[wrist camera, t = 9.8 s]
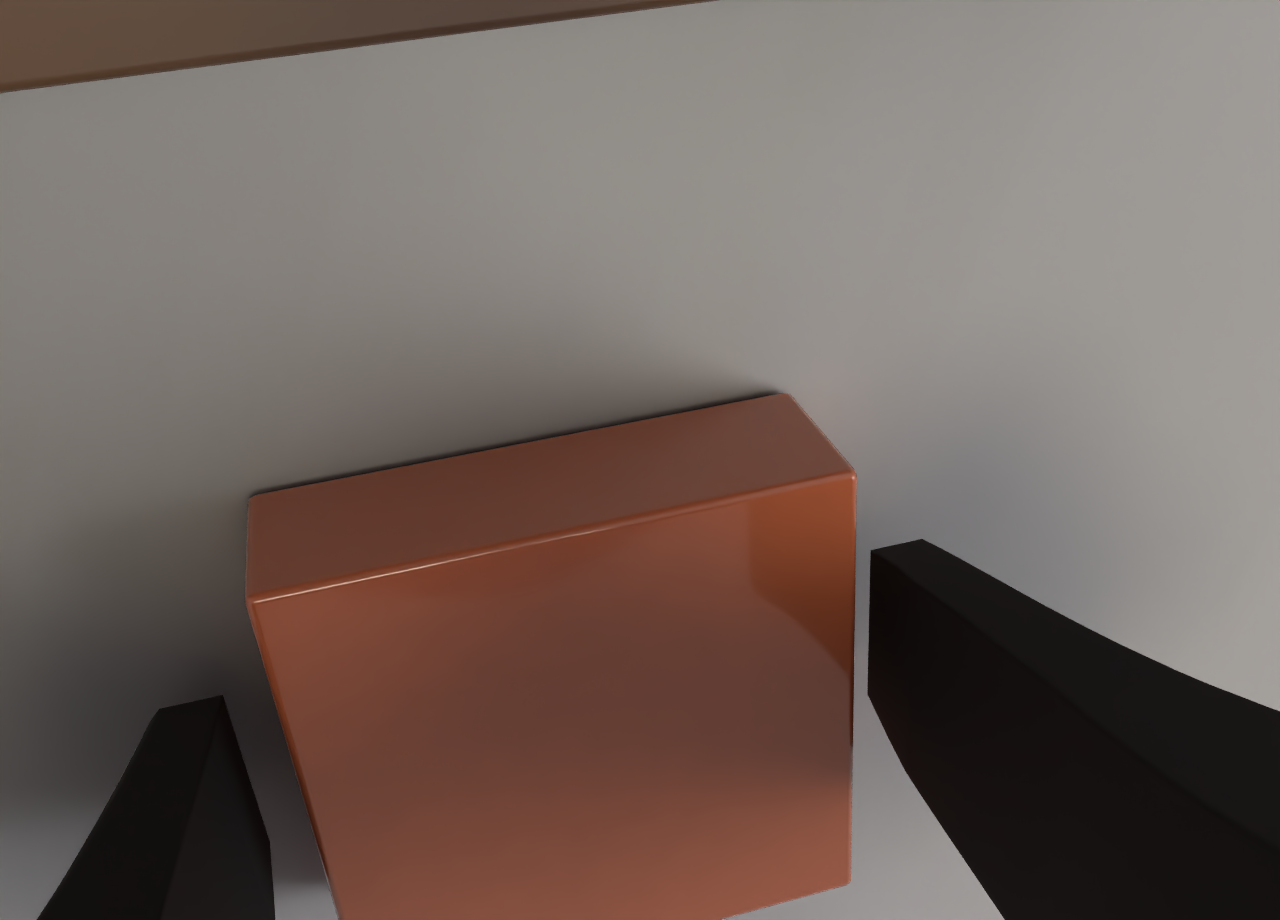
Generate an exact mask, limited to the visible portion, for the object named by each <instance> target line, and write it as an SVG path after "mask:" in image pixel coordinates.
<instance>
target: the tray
mask: <svg viewBox="0 0 1280 920" xmlns="http://www.w3.org/2000/svg"><path fill="white" fill-rule="evenodd" d="M709 1H717V0H0V93H4V92H12V91H20V90H27V89H35V88H43V87H51V86H58V85H66V84H74V83H82V82H89V81H97V80H105V79H113V78H120V77H128V76H136V75H144V74H151V73H159V72H167V71H175V70H182V69H190V68H198V67H206V66H213V65H221V64H229V63H237V62H244V61H252V60H260V59H268V58H275V57H283V56H291V55H299V54H306V53H314V52H322V51H330V50H337V49H345V48H353V47H361V46H368V45H376V44H384V43H392V42H399V41H407V40H415V39H423V38H430V37H438V36H446V35H454V34H461V33H469V32H477V31H485V30H492V29H500V28H508V27H516V26H523V25H531V24H539V23H547V22H554V21H562V20H570V19H578V18H585V17H593V16H601V15H609V14H616V13H624V12H632V11H640V10H647V9H655V8H663V7H671V6H678V5H686V4H694V3H702V2H709Z"/></svg>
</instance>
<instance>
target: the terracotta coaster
mask: <svg viewBox="0 0 1280 920" xmlns="http://www.w3.org/2000/svg"><path fill="white" fill-rule="evenodd" d="M856 491H857V474H856V472H855V470H854V469H853V467H852V466H851V465H850V464H849V463H848V461H847V460H846V459H845V458H844V457H843V456H842V454H841V453H840V452H839V451H838V450H837V449H836V447H835V446H834V445H833V444H832V443H831V442H830V440H829V439H828V438H827V437H826V436H825V434H824V433H823V432H822V431H821V430H820V429H819V427H818V426H817V425H816V424H815V423H814V422H813V420H812V419H811V418H810V417H809V416H808V415H807V413H806V412H805V411H804V410H803V409H802V408H801V406H800V405H799V404H798V403H797V402H796V400H795V399H794V398H793V397H792V396H791V395H790V394H788V393H780V394H774V395H769V396H764V397H759V398H754V399H749V400H743V401H738V402H733V403H728V404H723V405H717V406H712V407H707V408H702V409H697V410H692V411H686V412H681V413H676V414H671V415H666V416H661V417H655V418H650V419H645V420H640V421H635V422H629V423H624V424H619V425H614V426H609V427H604V428H598V429H593V430H588V431H583V432H578V433H573V434H567V435H562V436H557V437H552V438H547V439H541V440H536V441H531V442H526V443H521V444H516V445H510V446H505V447H500V448H495V449H490V450H485V451H479V452H474V453H469V454H464V455H459V456H453V457H448V458H443V459H438V460H433V461H428V462H422V463H417V464H412V465H407V466H402V467H397V468H391V469H386V470H381V471H376V472H371V473H365V474H360V475H355V476H350V477H345V478H340V479H334V480H329V481H324V482H319V483H314V484H308V485H303V486H298V487H293V488H288V489H283V490H277V491H272V492H267V493H262V494H257V495H254V496H252V497H250V498H249V501H248V510H247V542H246V573H245V605H246V609H247V612H248V615H249V619H250V622H251V625H252V629H253V632H254V636H255V639H256V642H257V646H258V649H259V653H260V656H261V659H262V663H263V666H264V670H265V673H266V676H267V680H268V683H269V686H270V690H271V693H272V697H273V700H274V703H275V707H276V710H277V714H278V717H279V720H280V724H281V727H282V731H283V734H284V737H285V741H286V744H287V747H288V751H289V754H290V758H291V761H292V764H293V768H294V771H295V775H296V778H297V781H298V785H299V788H300V791H301V795H302V798H303V802H304V805H305V808H306V812H307V815H308V819H309V822H310V825H311V829H312V832H313V836H314V839H315V842H316V846H317V849H318V852H319V856H320V859H321V863H322V866H323V869H324V873H325V876H326V880H327V883H328V886H329V890H330V893H331V896H332V900H333V903H334V907H335V910H336V913H337V917H338V920H722V919H726V918H730V917H733V916H737V915H740V914H744V913H748V912H751V911H755V910H759V909H762V908H766V907H770V906H773V905H777V904H780V903H784V902H788V901H791V900H795V899H799V898H802V897H806V896H810V895H813V894H817V893H820V892H824V891H828V890H831V889H835V888H839V887H842V886H846V885H847V884H849V883H850V881H851V839H852V769H853V700H854V630H855V560H856Z"/></svg>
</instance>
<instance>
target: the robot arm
mask: <svg viewBox="0 0 1280 920" xmlns="http://www.w3.org/2000/svg"><path fill="white" fill-rule="evenodd" d="M868 696H869V698H870V700H871V702H872V704H873V707H874V709H875V711H876V713H877V715H878V717H879V719H880V721H881V723H882V726H883V728H884V730H885V732H886V734H887V736H888V738H889V740H890V742H891V744H892V746H893V748H894V750H895V752H896V754H897V756H898V758H899V760H900V762H901V764H902V765H903V767H904V769H905V771H906V773H907V774H908V776H909V777H910V779H911V781H912V782H913V784H914V785H915V787H916V788H917V790H918V791H919V793H920V794H921V796H922V797H923V799H924V800H925V802H926V803H927V805H928V806H929V808H930V809H931V811H932V812H933V814H934V815H935V817H936V818H937V820H938V821H939V823H940V824H941V826H942V827H943V829H944V830H945V832H946V833H947V835H948V836H949V838H950V839H951V841H952V842H953V844H954V845H955V847H956V848H957V850H958V851H959V853H960V854H961V855H962V857H963V858H964V860H965V861H966V863H967V864H968V866H969V867H970V869H971V870H972V872H973V873H974V875H975V876H976V878H977V879H978V881H979V882H980V884H981V885H982V887H983V888H984V889H985V891H986V892H987V894H988V895H989V897H990V898H991V900H992V901H993V903H994V904H995V906H996V907H997V909H998V910H999V912H1000V913H1001V915H1002V916H1003V918H1004V919H1005V920H1280V711H1277V710H1274V709H1272V708H1269V707H1266V706H1264V705H1261V704H1258V703H1256V702H1253V701H1251V700H1248V699H1245V698H1243V697H1240V696H1238V695H1235V694H1233V693H1230V692H1227V691H1225V690H1222V689H1220V688H1217V687H1214V686H1212V685H1209V684H1207V683H1204V682H1202V681H1200V680H1197V679H1195V678H1193V677H1190V676H1188V675H1185V674H1183V673H1181V672H1178V671H1176V670H1174V669H1172V668H1170V667H1167V666H1165V665H1163V664H1161V663H1159V662H1157V661H1155V660H1152V659H1150V658H1148V657H1146V656H1144V655H1142V654H1139V653H1137V652H1135V651H1133V650H1131V649H1129V648H1127V647H1124V646H1122V645H1120V644H1118V643H1116V642H1114V641H1112V640H1110V639H1108V638H1106V637H1104V636H1102V635H1100V634H1098V633H1096V632H1094V631H1092V630H1090V629H1088V628H1086V627H1084V626H1082V625H1080V624H1079V623H1077V622H1075V621H1073V620H1071V619H1069V618H1067V617H1065V616H1063V615H1061V614H1060V613H1058V612H1056V611H1054V610H1052V609H1050V608H1048V607H1046V606H1045V605H1043V604H1041V603H1039V602H1037V601H1035V600H1034V599H1032V598H1030V597H1028V596H1026V595H1024V594H1023V593H1021V592H1019V591H1017V590H1015V589H1014V588H1012V587H1010V586H1008V585H1006V584H1005V583H1003V582H1001V581H999V580H997V579H996V578H994V577H992V576H990V575H988V574H987V573H985V572H983V571H981V570H979V569H978V568H976V567H974V566H972V565H970V564H969V563H967V562H965V561H963V560H961V559H960V558H958V557H956V556H954V555H952V554H950V553H949V552H947V551H945V550H943V549H941V548H939V547H937V546H935V545H933V544H931V543H929V542H927V541H925V540H923V539H920V540H915V541H911V542H906V543H902V544H897V545H893V546H888V547H884V548H879V549H875V550H871V560H870V605H869V651H868ZM37 920H275V907H274V891H273V878H272V865H271V851H270V841H269V838H268V834H267V831H266V828H265V825H264V822H263V819H262V816H261V813H260V810H259V806H258V803H257V800H256V797H255V794H254V791H253V788H252V785H251V782H250V778H249V775H248V772H247V769H246V766H245V763H244V760H243V757H242V754H241V750H240V747H239V744H238V741H237V738H236V735H235V732H234V729H233V726H232V722H231V719H230V716H229V713H228V710H227V707H226V704H225V701H224V698H223V695H220V696H216V697H211V698H207V699H202V700H198V701H193V702H189V703H184V704H180V705H175V706H171V707H166V708H162V709H159V710H158V712H157V713H156V714H155V716H154V717H153V718H152V720H151V721H150V723H149V725H148V727H147V729H146V731H145V733H144V735H143V737H142V739H141V741H140V742H139V744H138V746H137V748H136V750H135V752H134V754H133V756H132V758H131V760H130V762H129V764H128V766H127V768H126V769H125V771H124V773H123V775H122V777H121V779H120V781H119V783H118V784H117V786H116V788H115V790H114V792H113V794H112V795H111V797H110V799H109V801H108V803H107V805H106V806H105V808H104V810H103V812H102V814H101V815H100V817H99V819H98V821H97V822H96V824H95V826H94V827H93V829H92V831H91V833H90V834H89V836H88V838H87V839H86V841H85V843H84V844H83V846H82V848H81V850H80V851H79V853H78V855H77V856H76V858H75V860H74V861H73V863H72V865H71V867H70V868H69V870H68V872H67V873H66V875H65V877H64V878H63V880H62V882H61V883H60V885H59V886H58V888H57V890H56V891H55V893H54V894H53V896H52V897H51V899H50V900H49V902H48V903H47V905H46V906H45V908H44V909H43V911H42V912H41V914H40V915H39V917H38V918H37Z"/></svg>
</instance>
